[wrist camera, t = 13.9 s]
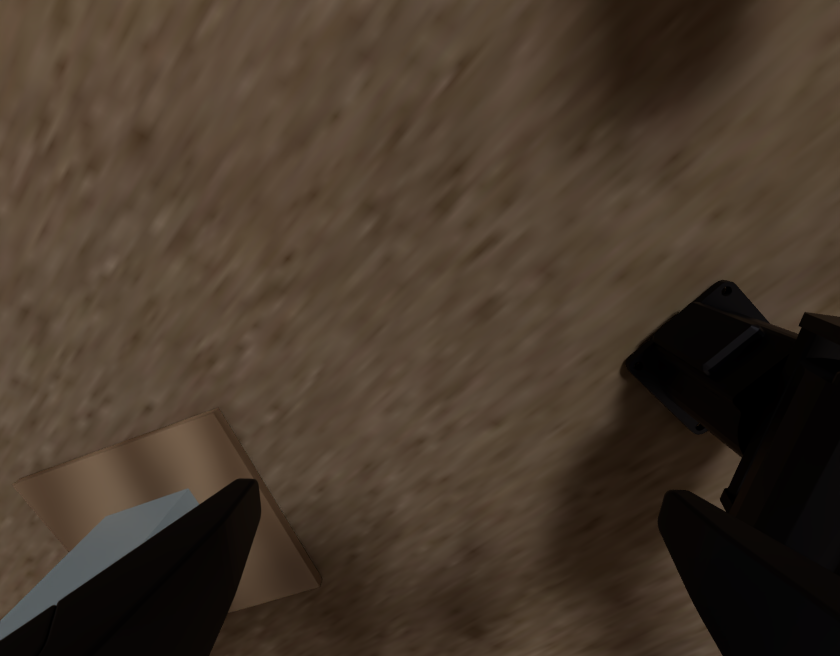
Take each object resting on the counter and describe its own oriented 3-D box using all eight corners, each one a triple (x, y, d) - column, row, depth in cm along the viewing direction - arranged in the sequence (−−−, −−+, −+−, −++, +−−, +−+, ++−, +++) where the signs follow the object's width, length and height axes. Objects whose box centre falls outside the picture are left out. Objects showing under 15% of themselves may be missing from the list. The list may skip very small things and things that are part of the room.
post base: (218, 407, 23) (162, 464, 18) (322, 578, 27) (299, 663, 22) (21, 477, 24) (-79, 547, 19) (146, 629, 28) (89, 717, 23)
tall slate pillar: (188, 488, 24) (-31, 755, 12) (237, 559, 25) (85, 852, 14) (105, 516, 24) (-174, 793, 13) (158, 583, 26) (-47, 881, 15)
